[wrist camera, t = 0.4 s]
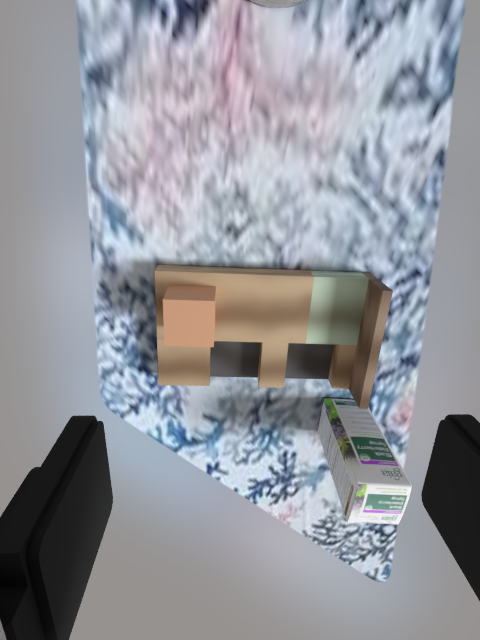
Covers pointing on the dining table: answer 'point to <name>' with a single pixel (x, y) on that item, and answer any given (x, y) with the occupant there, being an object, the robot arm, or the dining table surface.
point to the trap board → (280, 327)
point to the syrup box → (362, 464)
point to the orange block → (189, 316)
